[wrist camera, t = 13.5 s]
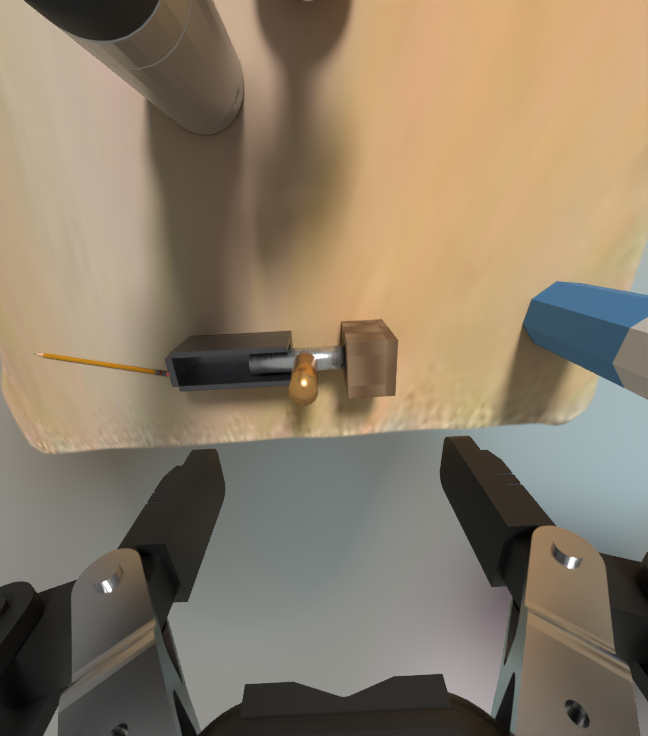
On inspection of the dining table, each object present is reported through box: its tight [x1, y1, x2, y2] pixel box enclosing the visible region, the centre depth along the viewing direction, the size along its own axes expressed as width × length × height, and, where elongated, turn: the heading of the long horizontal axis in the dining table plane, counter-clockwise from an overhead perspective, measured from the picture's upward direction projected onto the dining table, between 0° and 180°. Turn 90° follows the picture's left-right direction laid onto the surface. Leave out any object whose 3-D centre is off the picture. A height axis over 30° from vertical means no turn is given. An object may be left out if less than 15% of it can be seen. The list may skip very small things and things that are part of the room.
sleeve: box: [165, 331, 293, 391], centre depth 40 cm, size 15×5×6 cm, turn 93°
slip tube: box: [249, 346, 346, 405], centre depth 35 cm, size 16×3×11 cm, turn 93°
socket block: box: [341, 319, 398, 398], centre depth 39 cm, size 6×7×9 cm
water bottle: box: [523, 281, 648, 399], centre depth 30 cm, size 9×9×25 cm
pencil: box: [36, 353, 169, 376], centre depth 43 cm, size 19×1×1 cm, turn 80°
